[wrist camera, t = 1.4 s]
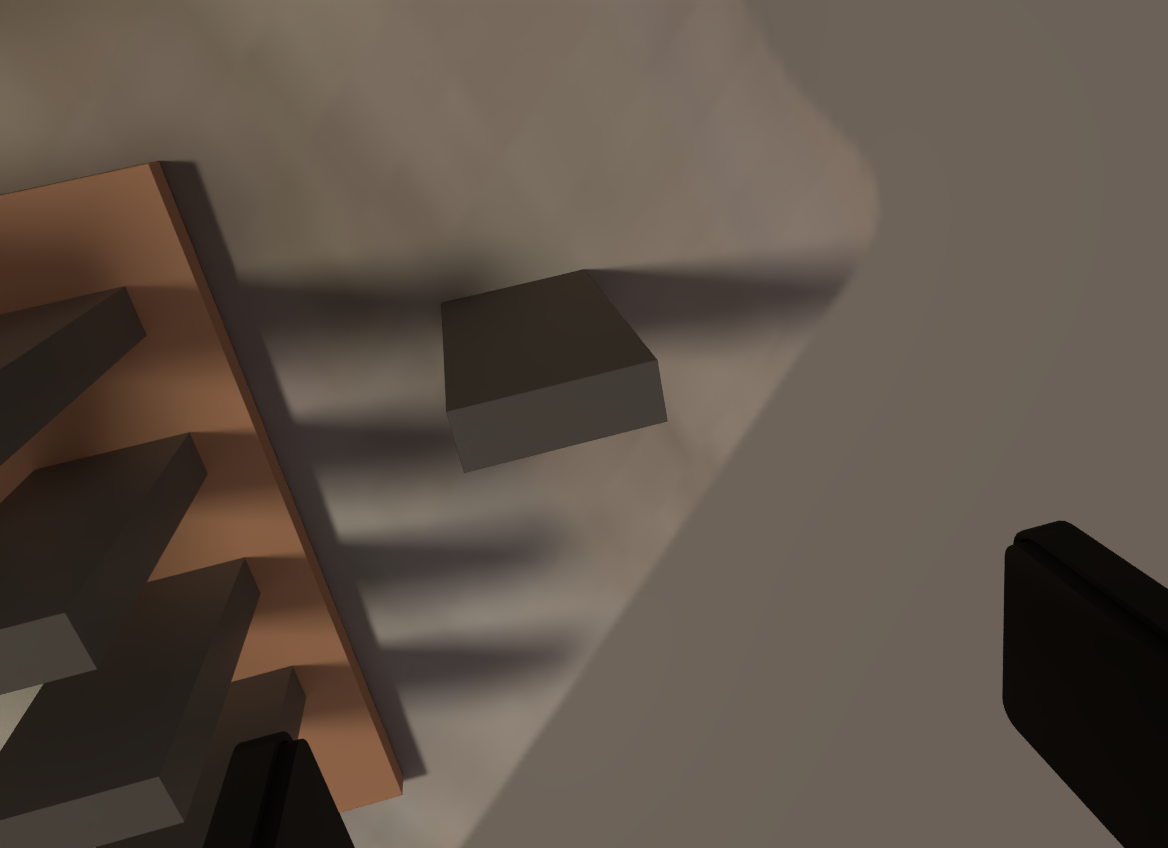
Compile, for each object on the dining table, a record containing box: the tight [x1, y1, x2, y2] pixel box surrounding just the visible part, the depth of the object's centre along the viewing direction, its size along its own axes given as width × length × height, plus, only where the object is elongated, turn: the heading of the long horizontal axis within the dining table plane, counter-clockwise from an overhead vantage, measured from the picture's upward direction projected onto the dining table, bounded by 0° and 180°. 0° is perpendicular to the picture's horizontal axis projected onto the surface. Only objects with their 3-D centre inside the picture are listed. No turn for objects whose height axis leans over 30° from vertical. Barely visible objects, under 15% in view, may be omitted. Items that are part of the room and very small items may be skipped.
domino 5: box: [441, 270, 667, 473], centre depth 23 cm, size 2×5×10 cm, turn 101°
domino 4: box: [96, 666, 306, 848], centre depth 26 cm, size 2×5×10 cm, turn 101°
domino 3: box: [0, 557, 261, 848], centre depth 24 cm, size 2×5×10 cm, turn 101°
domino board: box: [0, 161, 403, 813], centre depth 29 cm, size 26×9×1 cm, turn 11°
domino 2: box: [0, 432, 208, 695], centre depth 22 cm, size 2×5×10 cm, turn 101°
